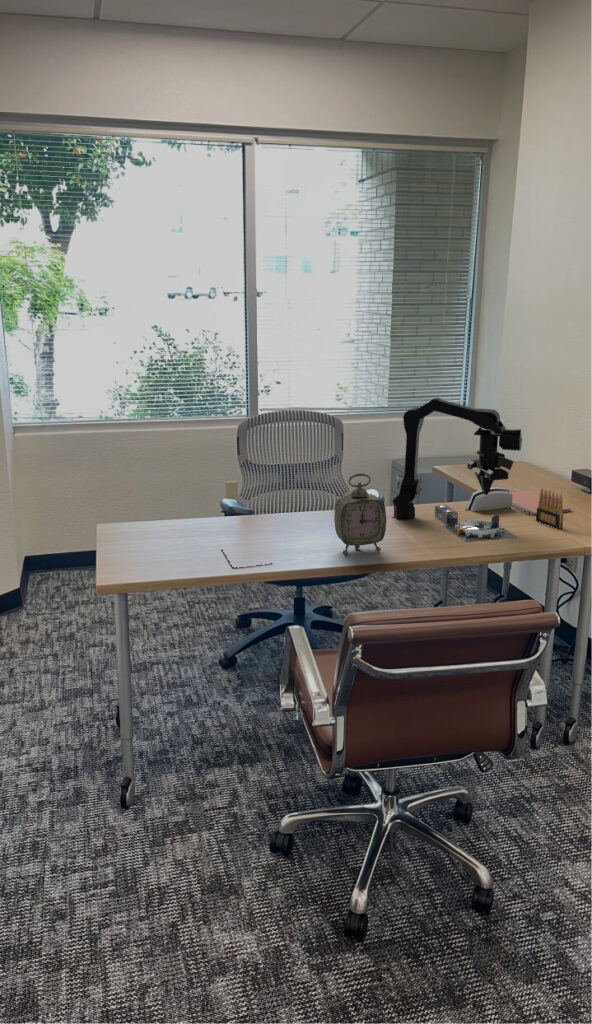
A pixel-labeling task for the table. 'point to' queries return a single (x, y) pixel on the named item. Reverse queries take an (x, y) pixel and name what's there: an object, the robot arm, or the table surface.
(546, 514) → the ammunition clip
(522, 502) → the notebook
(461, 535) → the base plate
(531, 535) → the table surface
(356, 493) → the tabletop clock
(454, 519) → the chain link
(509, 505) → the grey half-round block
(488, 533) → the sprocket wheel
